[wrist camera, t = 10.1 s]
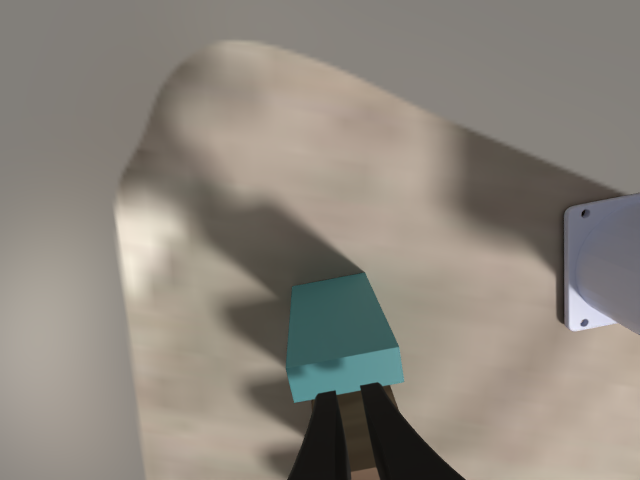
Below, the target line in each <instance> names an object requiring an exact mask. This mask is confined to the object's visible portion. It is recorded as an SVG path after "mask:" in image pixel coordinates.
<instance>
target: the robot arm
mask: <svg viewBox="0 0 640 480" xmlns="http://www.w3.org/2000/svg"><path fill="white" fill-rule="evenodd" d="M583 210H585V214H584V215H583V216H581V213H582V211H583ZM564 307H565V326H566V327H567V328H568V329H569V330H571V331H579V330H585V329H590V328H595V327H600V326H605V325H611V324H616V323H619V324H621V325H623V326H624V327H626V328H628V329H630V330H631V331H633V332H635V333H637V334H638V335H640V193H636V194H631V195H626V196H621V197H615V198H610V199H605V200H600V201H595V202H590V203H585V204H580V205H575V206H571V207H569V208H568V209H567V210H566V211H565V214H564ZM582 320H584V321H583V322H582V323H581V321H582ZM360 389H361V394H362V399H363V405H364V410H365V415H366V421H367V426H368V431H369V436H370V441H371V446H372V450H373V455H374V459H375V464H376V468H377V471H378V474H379V478H380V480H465V479H464V478H463V477H462V476H461V475H460V474H458V473H457V472H456V471H455V470H454V469H453V468H452V467H450V466H449V465H448V464H447V463H446V462H445V461H444V460H443V459H442V458H441V457H440V456H439V455H438V454H437V453H436V452H435V451H434V450H433V449H432V448H431V447H430V446H429V445H428V444H427V443H426V442H425V441H424V440H423V439H422V438H421V437H420V436H419V435H418V433H417V432H416V431H415V430H414V429H413V428H412V427H411V425H410V424H409V423H408V422H407V421H406V419H405V418H404V417H403V416H402V415H401V413H400V412H399V411H398V409H397V408H396V407H395V405H394V404H393V403H392V401H391V400H390V398H389V397H388V395H387V394H386V392H385V390H384V389H383V387H382V385H381V384H380V383H378V382H375V383H370V384H365V385H360ZM287 480H351V468H350V462H349V455H348V449H347V443H346V437H345V432H344V427H343V423H342V418H341V413H340V409H339V404H338V399H337V394H336V390H334V391H329V392H323V393H318V394H317V395H316V397H315V402H314V407H313V411H312V415H311V418H310V422H309V425H308V428H307V431H306V434H305V437H304V440H303V443H302V446H301V449H300V451H299V454H298V456H297V458H296V461H295V463H294V466H293V468H292V470H291V473H290V475H289V477H288V479H287Z"/></svg>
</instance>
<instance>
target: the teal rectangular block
mask: <svg viewBox="0 0 640 480" xmlns="http://www.w3.org/2000/svg"><path fill="white" fill-rule="evenodd" d="M286 372H287V376H288V380H289V384H290V388H291V392H292V396H293V400H294V403H296V402H302V401H307V400H312V399H315V397H316V395H317V394H318V393H323V392H329V391H334V390H336V394H337V395H339V394H344V393H349V392H354V391H360V390H361V389H360V385H365V384H370V383H375V382H378V383H380V384H381V385H382V386H386V385H391V384H397V383H402V382H404V377H403V370H402V363H401V357H400V350H399V346H398V343H397V341H396V339H395V337H394V335H393V333H392V330H391V328H390V326H389V324H388V322H387V320H386V317H385V315H384V313H383V311H382V309H381V307H380V304H379V302H378V300H377V298H376V296H375V293H374V291H373V289H372V287H371V285H370V283H369V280H368V278H367V276H366V274H365V272H364V273H359V274H354V275H349V276H344V277H338V278H333V279H328V280H323V281H318V282H312V283H307V284H302V285H297V286H292V296H291V308H290V321H289V333H288V346H287V358H286Z"/></svg>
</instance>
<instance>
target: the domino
mask: <svg viewBox="0 0 640 480" xmlns="http://www.w3.org/2000/svg"><path fill="white" fill-rule="evenodd" d="M382 387H383V389H384V390H385V392H386V394H387V395H388V397H389V398H390V400H391V401H392V403H393V404H394V405H395V407H396V408H397V409H398V407H397V404H396V401H395V398H394V395H393V393H392V390H391V387H390V385H386V386H382ZM337 399H338V404H339V409H340V413H341V418H342V423H343V427H344V432H345V437H346V443H347V449H348V455H349V462H350V468H351V480H380V478H379V474H378V471H377V468H376V464H375V459H374V455H373V450H372V446H371V441H370V436H369V431H368V426H367V421H366V415H365V410H364V405H363V399H362V394H361V390H360V391H354V392H349V393H344V394H339V395H337ZM314 402H315V399H312V411H313V407H314ZM398 411H399V410H398Z"/></svg>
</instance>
